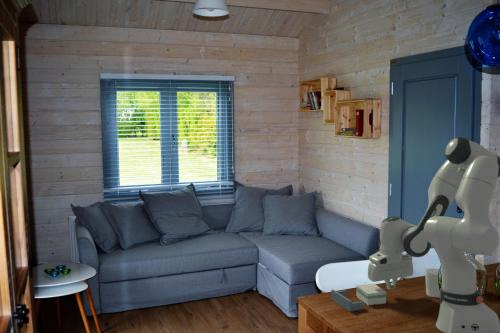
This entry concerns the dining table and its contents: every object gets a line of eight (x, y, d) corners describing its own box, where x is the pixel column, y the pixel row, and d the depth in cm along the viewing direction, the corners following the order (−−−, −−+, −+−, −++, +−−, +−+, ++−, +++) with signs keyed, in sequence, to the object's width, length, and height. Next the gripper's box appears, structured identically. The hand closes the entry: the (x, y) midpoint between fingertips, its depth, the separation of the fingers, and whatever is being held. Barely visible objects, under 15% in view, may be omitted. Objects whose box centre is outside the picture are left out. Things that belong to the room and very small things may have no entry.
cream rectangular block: (374, 294, 207) (374, 283, 207) (386, 303, 197) (386, 291, 197) (356, 297, 205) (356, 285, 205) (367, 306, 196) (367, 293, 195)
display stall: (344, 296, 205) (344, 287, 205) (364, 309, 192) (364, 299, 192) (331, 299, 203) (331, 289, 202) (349, 311, 190) (349, 301, 189)
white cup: (422, 291, 209) (422, 268, 208) (441, 291, 209) (441, 268, 208) (428, 298, 202) (428, 274, 200) (447, 298, 201) (448, 274, 200)
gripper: (407, 251, 210) (406, 282, 211) (365, 257, 203) (365, 289, 204) (416, 255, 204) (416, 287, 205) (374, 261, 197) (374, 294, 198)
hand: (390, 288), depth 205 cm, fingers closed
